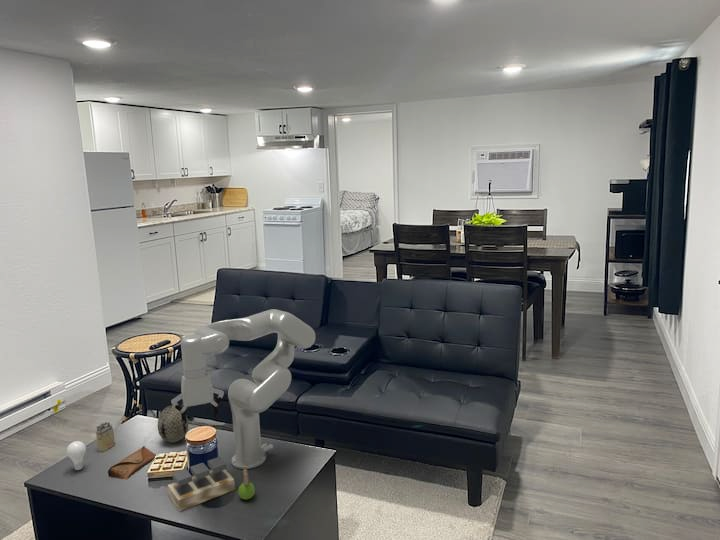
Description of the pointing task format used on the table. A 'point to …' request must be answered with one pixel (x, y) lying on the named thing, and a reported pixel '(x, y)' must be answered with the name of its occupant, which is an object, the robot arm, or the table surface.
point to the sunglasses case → (131, 464)
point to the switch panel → (201, 489)
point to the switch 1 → (182, 477)
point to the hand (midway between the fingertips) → (200, 418)
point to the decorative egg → (172, 424)
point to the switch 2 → (217, 464)
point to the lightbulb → (76, 453)
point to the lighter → (105, 436)
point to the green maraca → (246, 487)
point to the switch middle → (200, 470)
